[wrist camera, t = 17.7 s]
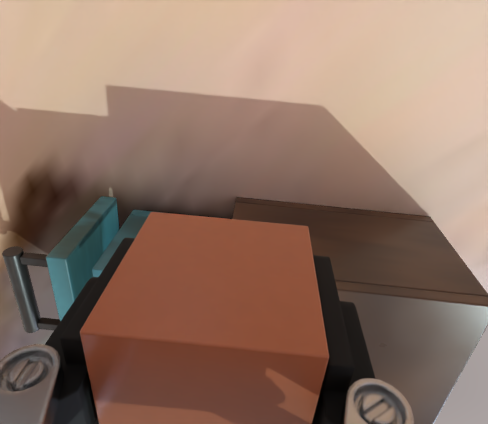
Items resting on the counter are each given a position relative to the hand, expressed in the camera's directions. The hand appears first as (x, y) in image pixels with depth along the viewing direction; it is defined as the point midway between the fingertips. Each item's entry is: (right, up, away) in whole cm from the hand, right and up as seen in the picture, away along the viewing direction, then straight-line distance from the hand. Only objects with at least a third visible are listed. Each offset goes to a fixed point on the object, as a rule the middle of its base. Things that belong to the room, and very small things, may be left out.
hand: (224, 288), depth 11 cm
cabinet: (+7, -3, +19) cm, 21 cm away
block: (0, 0, 0) cm, 0 cm away
